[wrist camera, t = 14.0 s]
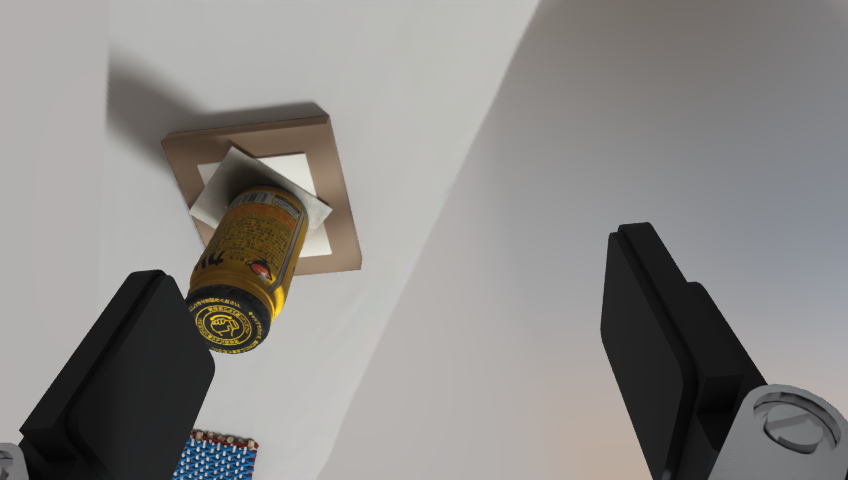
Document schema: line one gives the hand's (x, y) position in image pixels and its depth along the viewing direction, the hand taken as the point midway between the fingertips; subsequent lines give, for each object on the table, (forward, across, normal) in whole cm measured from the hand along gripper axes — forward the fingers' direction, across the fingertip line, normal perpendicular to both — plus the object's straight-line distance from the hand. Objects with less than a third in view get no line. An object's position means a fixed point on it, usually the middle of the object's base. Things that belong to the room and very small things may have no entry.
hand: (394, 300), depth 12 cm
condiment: (+27, +14, +13) cm, 33 cm away
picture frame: (+28, +13, +13) cm, 34 cm away
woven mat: (+29, +30, +46) cm, 62 cm away
